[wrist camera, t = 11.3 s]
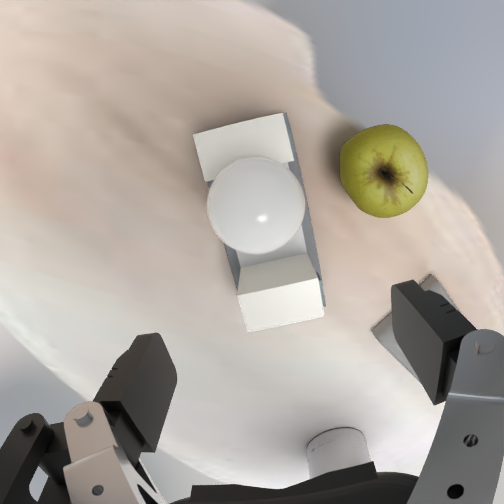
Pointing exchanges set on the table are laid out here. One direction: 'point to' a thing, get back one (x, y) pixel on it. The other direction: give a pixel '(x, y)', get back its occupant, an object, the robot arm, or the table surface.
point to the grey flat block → (385, 330)
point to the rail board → (295, 246)
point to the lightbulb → (255, 205)
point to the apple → (383, 170)
